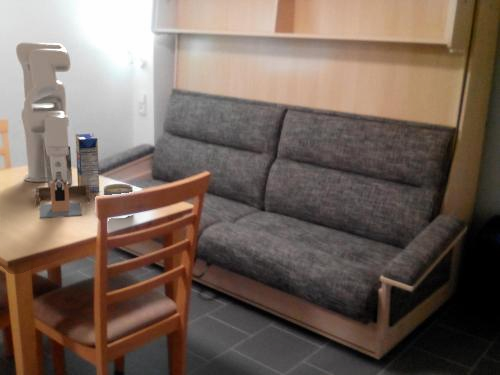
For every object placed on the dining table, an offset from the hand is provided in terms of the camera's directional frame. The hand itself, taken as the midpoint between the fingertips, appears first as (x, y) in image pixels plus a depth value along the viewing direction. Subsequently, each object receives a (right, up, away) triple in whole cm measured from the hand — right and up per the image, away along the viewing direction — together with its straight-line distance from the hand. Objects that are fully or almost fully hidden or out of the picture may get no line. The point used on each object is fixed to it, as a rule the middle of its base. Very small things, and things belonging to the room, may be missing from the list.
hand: (60, 196), depth 193 cm
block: (0, -5, +1) cm, 5 cm away
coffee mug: (+22, -7, -1) cm, 23 cm away
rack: (-3, -2, +13) cm, 13 cm away
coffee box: (-11, +4, +32) cm, 34 cm away
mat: (0, -5, +1) cm, 5 cm away
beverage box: (+2, +2, +29) cm, 29 cm away
